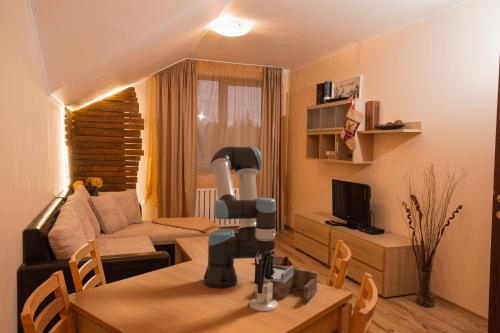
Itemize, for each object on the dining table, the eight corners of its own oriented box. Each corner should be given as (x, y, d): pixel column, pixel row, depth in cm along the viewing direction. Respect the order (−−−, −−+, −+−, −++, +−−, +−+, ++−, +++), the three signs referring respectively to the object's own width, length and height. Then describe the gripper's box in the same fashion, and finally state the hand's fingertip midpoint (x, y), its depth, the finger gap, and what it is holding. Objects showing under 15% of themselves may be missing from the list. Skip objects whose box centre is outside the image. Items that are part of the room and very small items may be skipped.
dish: (244, 307, 139) (244, 305, 139) (256, 297, 149) (256, 295, 149) (271, 313, 134) (271, 311, 134) (282, 302, 144) (282, 300, 144)
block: (255, 300, 140) (255, 284, 140) (260, 295, 145) (260, 280, 145) (267, 302, 138) (267, 287, 138) (272, 298, 143) (272, 282, 142)
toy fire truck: (295, 280, 169) (296, 258, 169) (269, 281, 167) (269, 259, 167) (291, 275, 176) (292, 254, 175) (266, 276, 174) (266, 254, 174)
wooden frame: (259, 293, 153) (260, 273, 152) (272, 283, 165) (273, 264, 165) (307, 303, 144) (307, 282, 143) (317, 291, 156) (317, 272, 156)
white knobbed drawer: (261, 278, 152) (261, 270, 152) (272, 270, 163) (272, 262, 163) (283, 282, 148) (284, 274, 148) (294, 273, 159) (294, 265, 159)
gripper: (264, 245, 131) (263, 309, 132) (282, 235, 147) (281, 292, 148) (245, 242, 134) (244, 304, 135) (265, 232, 150) (264, 288, 151)
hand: (263, 298), depth 142 cm, fingers open, 5 cm apart
